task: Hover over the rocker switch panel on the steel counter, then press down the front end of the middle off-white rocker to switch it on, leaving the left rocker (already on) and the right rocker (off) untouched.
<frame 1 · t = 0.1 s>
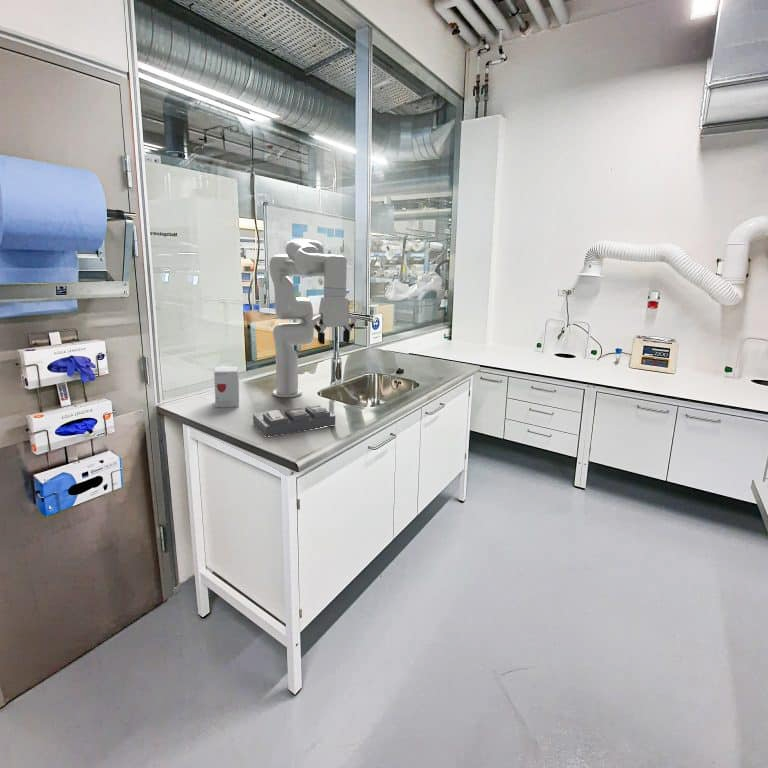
hand: (333, 342, 157), 31 cm above the table, tool pointing down, fingers open, 9 cm apart
supplement box: (227, 404, 183), on the table
rocker 1: (275, 415, 156), point 6 cm above the table, hinge at 12.0°
middle rocker: (297, 412, 161), point 6 cm above the table, hinge at -12.0°
rocker switch panel: (294, 425, 164), on the table
rocker 2: (317, 409, 165), point 6 cm above the table, hinge at -12.0°
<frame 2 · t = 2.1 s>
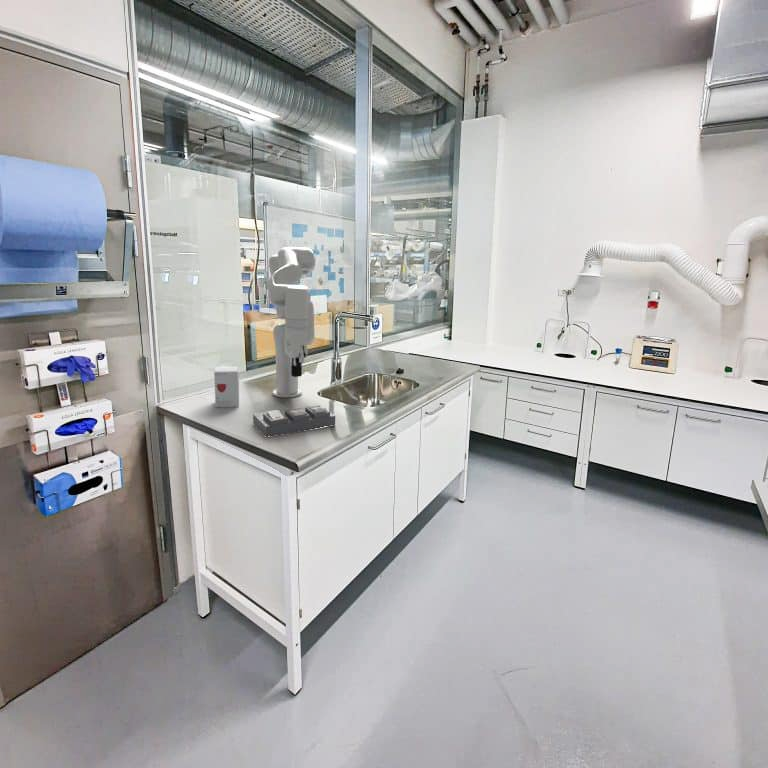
hand: (296, 375, 157), 19 cm above the table, tool pointing down, fingers closed
nothing on the table moved.
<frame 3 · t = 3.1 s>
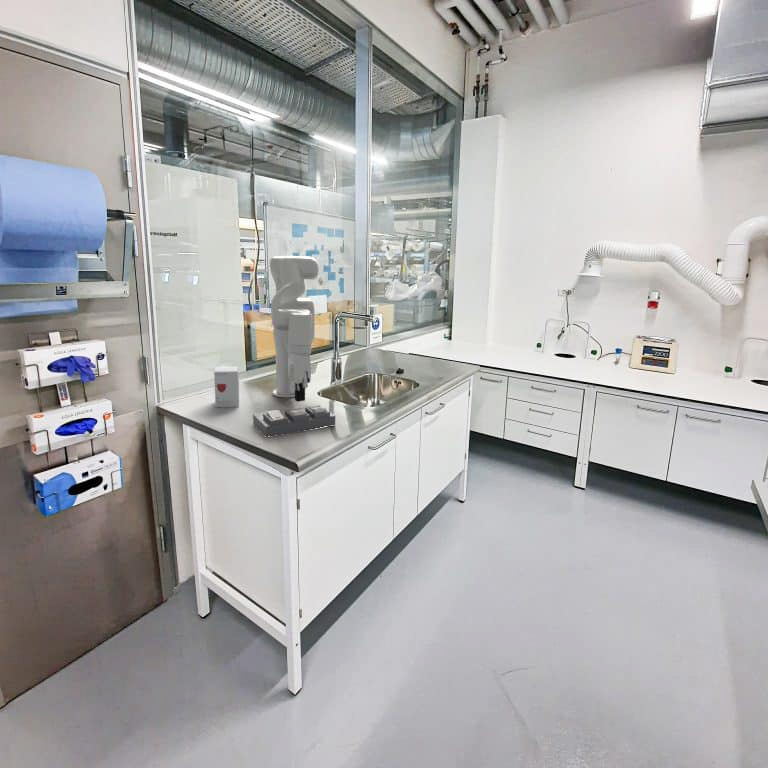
hand: (299, 400, 157), 11 cm above the table, tool pointing down, fingers closed
nothing on the table moved.
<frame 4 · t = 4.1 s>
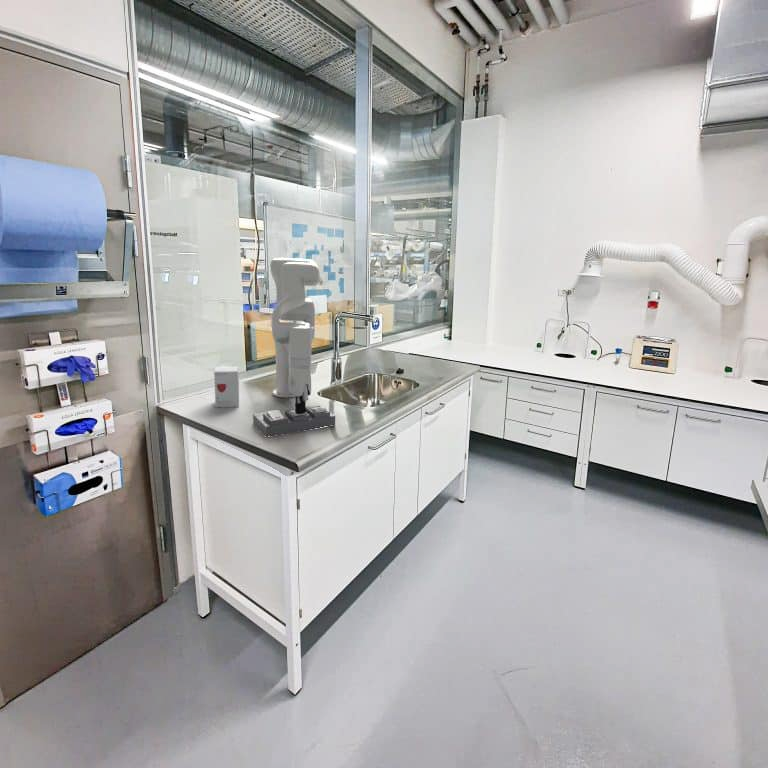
hand: (300, 413, 158), 6 cm above the table, tool pointing down, fingers closed
middle rocker: (297, 412, 161), point 6 cm above the table, hinge at -11.4°, touching gripper
everything else where it was.
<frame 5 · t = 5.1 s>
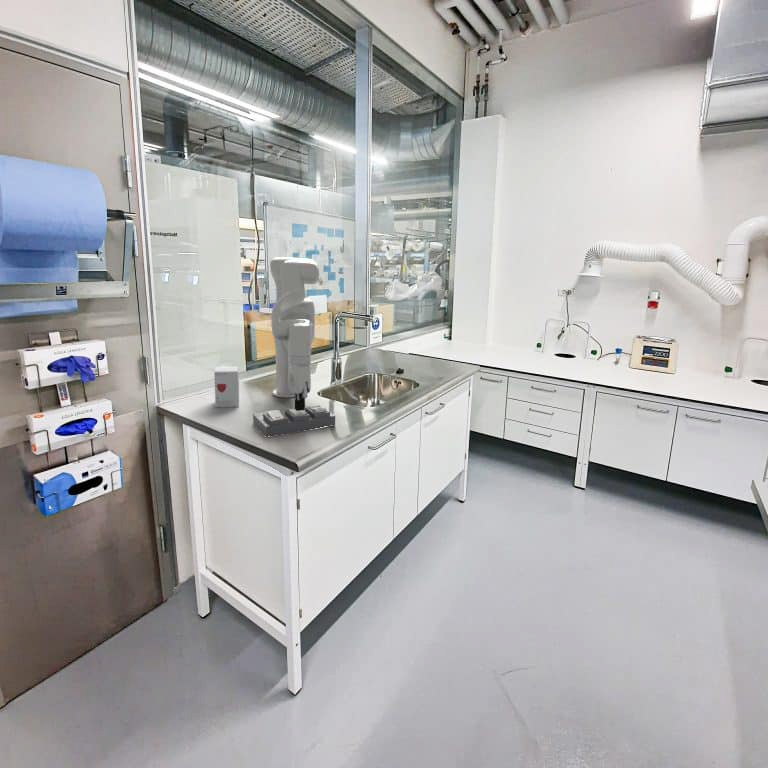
hand: (299, 409, 159), 7 cm above the table, tool pointing down, fingers closed
middle rocker: (297, 412, 161), point 6 cm above the table, hinge at 0.0°
everything else where it was.
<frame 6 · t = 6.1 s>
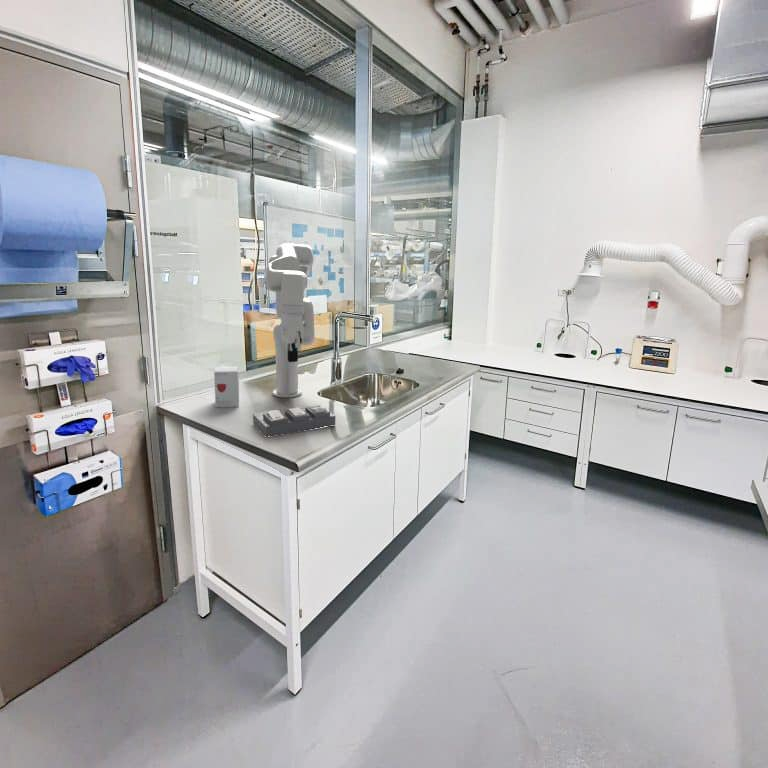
hand: (292, 361, 160), 24 cm above the table, tool pointing down, fingers closed
middle rocker: (297, 412, 161), point 6 cm above the table, hinge at 5.8°
everything else where it was.
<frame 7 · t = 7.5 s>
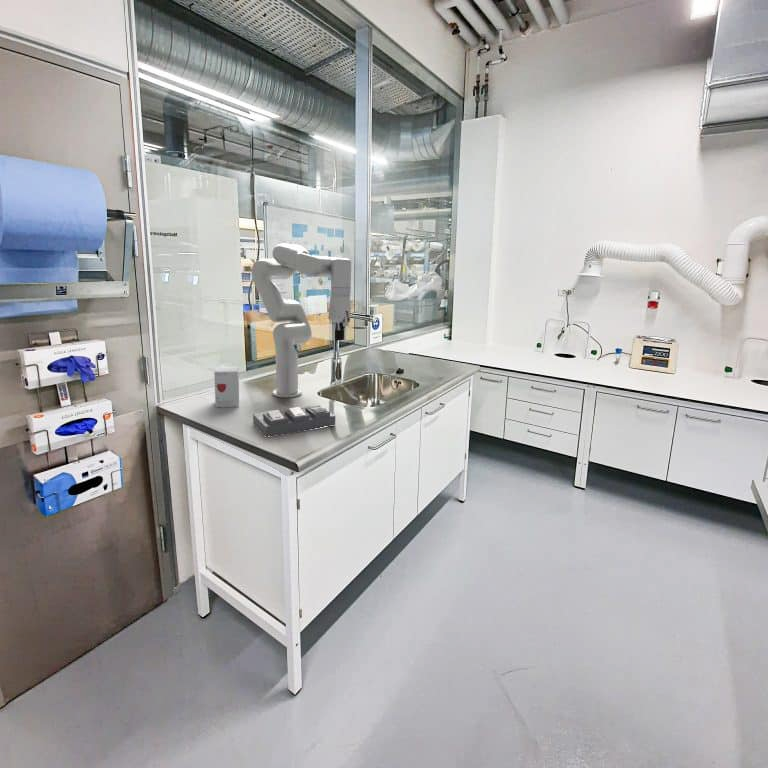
hand: (339, 339, 175), 29 cm above the table, tool pointing down, fingers closed
middle rocker: (297, 412, 161), point 6 cm above the table, hinge at 10.6°
everything else where it was.
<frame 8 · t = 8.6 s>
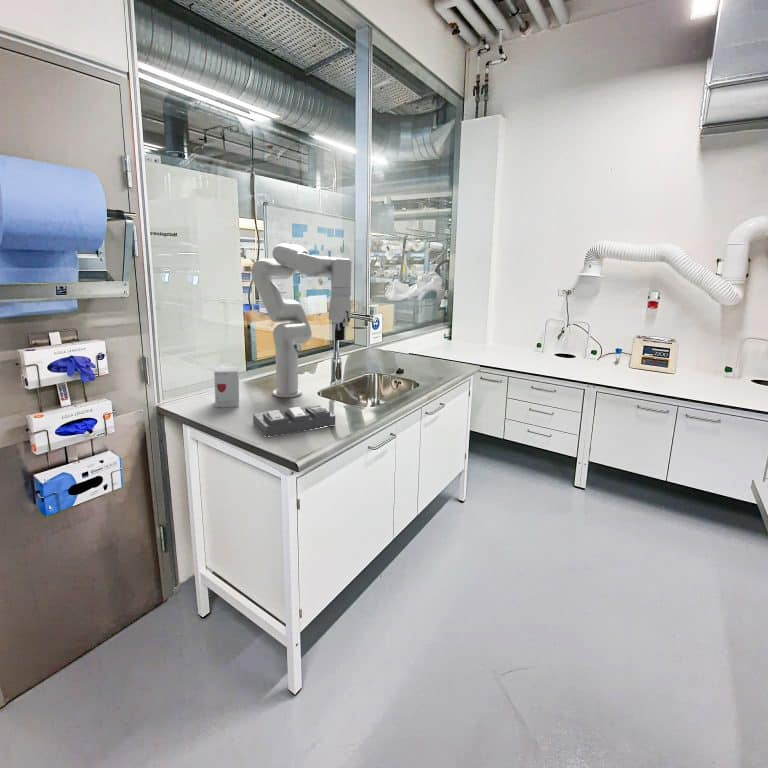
hand: (339, 339, 175), 29 cm above the table, tool pointing down, fingers closed
middle rocker: (297, 412, 161), point 6 cm above the table, hinge at 12.7°
everything else where it was.
at the end: middle rocker at +13° (first picture: -12°); rocker 1 at +12° (first picture: +12°); rocker 2 at -12° (first picture: -12°) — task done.
